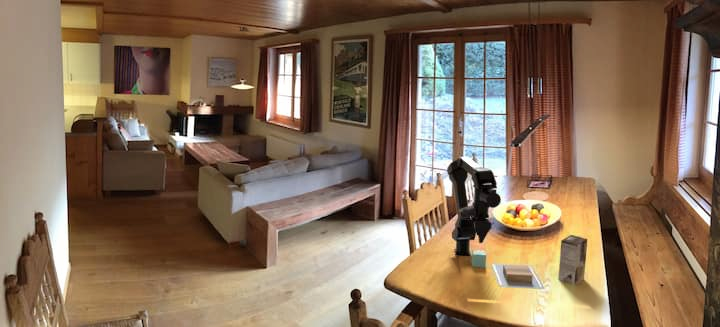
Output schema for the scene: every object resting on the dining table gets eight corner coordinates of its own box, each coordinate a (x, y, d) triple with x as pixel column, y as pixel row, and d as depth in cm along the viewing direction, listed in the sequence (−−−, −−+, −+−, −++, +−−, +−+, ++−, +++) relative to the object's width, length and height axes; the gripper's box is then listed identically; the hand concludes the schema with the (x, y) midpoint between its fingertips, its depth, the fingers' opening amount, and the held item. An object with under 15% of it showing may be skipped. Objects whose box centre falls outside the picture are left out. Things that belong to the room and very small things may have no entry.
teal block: (471, 264, 200) (471, 250, 199) (483, 264, 199) (484, 250, 198) (472, 268, 195) (473, 254, 194) (485, 269, 195) (486, 255, 193)
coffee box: (567, 274, 190) (570, 234, 187) (584, 279, 185) (588, 238, 183) (557, 281, 184) (560, 239, 181) (574, 286, 179) (578, 244, 176)
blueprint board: (490, 265, 199) (490, 263, 198) (531, 267, 197) (531, 265, 197) (498, 288, 177) (498, 286, 177) (544, 291, 175) (545, 288, 175)
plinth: (502, 272, 190) (503, 264, 189) (526, 273, 189) (527, 266, 188) (506, 281, 181) (507, 274, 180) (532, 283, 180) (532, 275, 179)
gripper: (458, 194, 202) (457, 230, 205) (462, 206, 184) (460, 246, 187) (486, 195, 201) (484, 232, 204) (492, 207, 183) (490, 247, 186)
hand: (479, 239), depth 195 cm, fingers open, 9 cm apart
